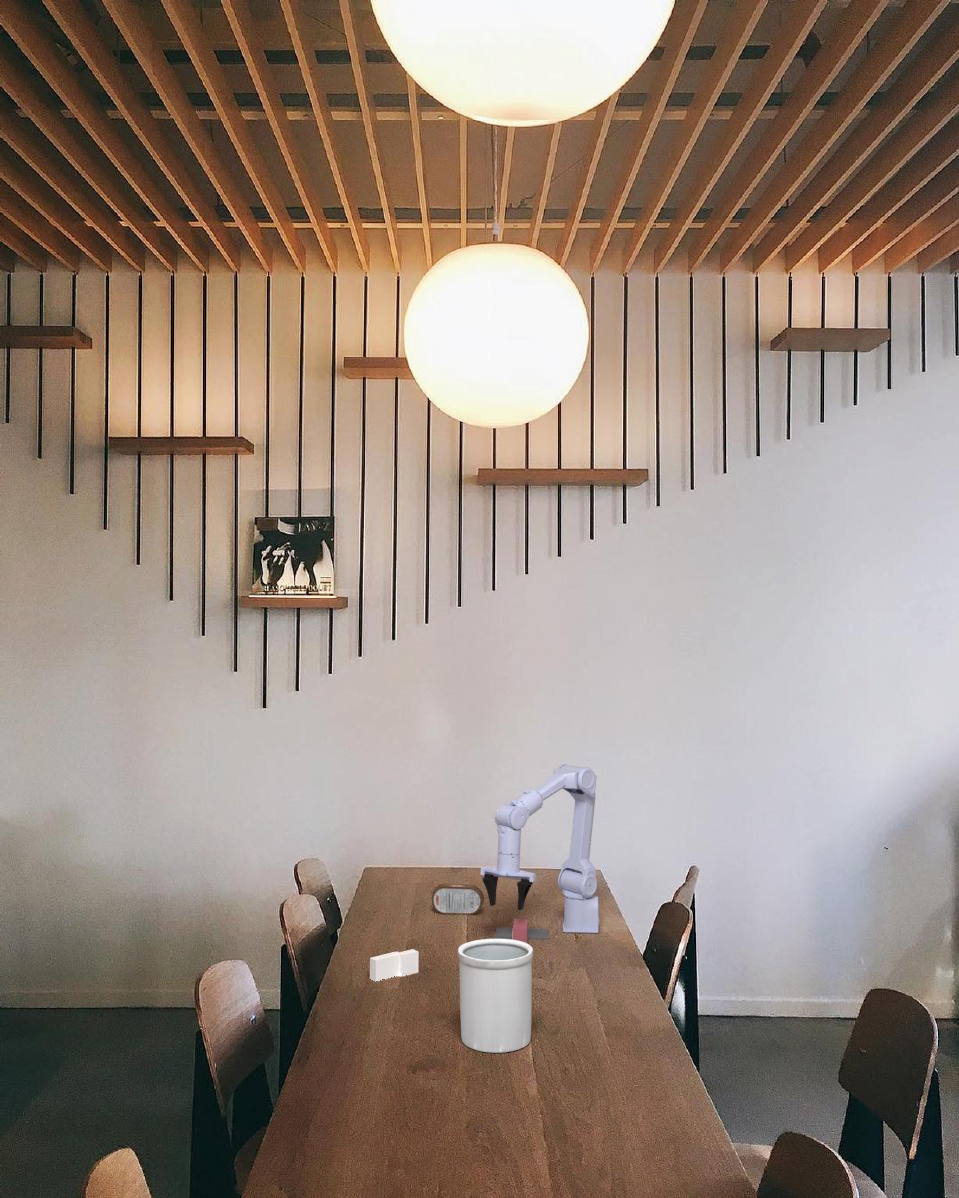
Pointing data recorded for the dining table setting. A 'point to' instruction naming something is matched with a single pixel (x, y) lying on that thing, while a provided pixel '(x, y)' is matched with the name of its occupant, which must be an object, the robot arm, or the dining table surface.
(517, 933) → the box
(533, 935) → the mat
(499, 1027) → the utensil holder
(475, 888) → the tin
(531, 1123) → the dining table surface
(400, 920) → the dining table surface
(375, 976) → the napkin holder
